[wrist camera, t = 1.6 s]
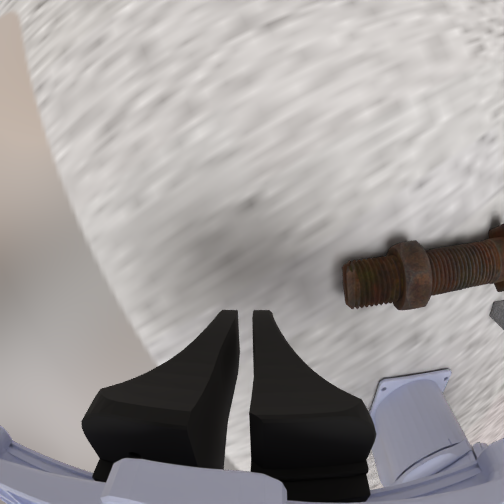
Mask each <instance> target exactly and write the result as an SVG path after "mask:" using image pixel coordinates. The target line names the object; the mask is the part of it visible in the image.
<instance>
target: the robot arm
mask: <svg viewBox="0 0 504 504" xmlns="http://www.w3.org/2000/svg"><path fill="white" fill-rule="evenodd" d="M252 319H253V362H254V381H253V390H252V398H251V405H250V411H249V417H250V440H251V472H248V471H239V470H224V457H225V445H226V434H227V424H228V418H229V413H230V408H231V403H232V399H233V394H234V390H235V385H236V380H237V375H238V368H239V355H240V347H239V328H238V310H222V311H221V312H220V313H219V314H218V315H217V316H216V317H215V319H214V320H213V321H212V322H211V323H210V324H209V325H208V327H207V328H206V329H205V330H204V331H203V332H202V333H201V334H200V335H199V336H198V337H197V338H196V339H195V340H194V341H193V342H192V343H190V344H189V345H188V346H187V347H186V348H185V349H184V350H182V351H181V352H180V353H178V354H177V355H176V356H174V357H173V358H171V359H170V360H168V361H167V362H165V363H163V364H162V365H160V366H158V367H156V368H155V369H153V370H151V371H149V372H147V373H145V374H143V375H141V376H138V377H136V378H133V379H131V380H128V381H125V382H123V383H120V384H116V385H113V386H109V387H106V388H102V389H100V391H99V392H98V394H97V395H96V397H95V398H94V400H93V402H92V404H91V405H90V407H89V409H88V411H87V412H86V414H85V416H84V418H83V420H82V429H83V431H84V434H85V436H86V437H87V439H88V441H89V442H90V444H91V445H92V447H93V448H94V450H95V452H96V453H97V455H98V456H99V458H100V460H99V462H98V464H97V466H96V469H95V471H94V473H91V472H88V471H85V470H82V469H79V468H76V467H74V466H71V465H68V464H65V463H63V462H60V461H58V460H55V459H52V458H50V457H48V456H45V455H43V454H40V453H38V452H36V451H34V450H31V449H29V448H27V447H25V446H23V445H20V444H19V443H17V442H15V441H13V440H12V438H11V437H10V435H9V434H8V433H7V431H6V430H5V429H4V428H3V427H2V426H1V425H0V499H1V500H2V501H4V502H5V503H7V504H504V438H502V439H500V440H498V441H496V442H493V443H492V444H490V445H487V444H486V443H480V442H477V443H476V444H474V445H473V447H472V445H471V444H470V443H469V442H468V440H467V438H466V436H465V434H464V432H463V430H462V428H461V426H460V424H459V422H458V420H457V419H456V417H455V415H454V413H453V411H452V409H451V408H450V406H449V404H448V402H447V400H446V399H445V397H444V395H443V391H444V389H445V387H446V385H447V382H448V380H449V378H450V376H451V373H452V372H451V370H450V369H445V370H440V371H434V372H429V373H423V374H417V375H411V376H404V377H397V378H389V379H383V380H382V381H381V382H380V383H379V386H378V389H377V392H376V395H375V398H374V401H373V404H372V407H371V410H370V413H369V412H368V410H367V408H366V406H365V404H364V403H363V401H362V400H361V399H360V398H357V397H355V396H353V395H351V394H349V393H347V392H345V391H343V390H341V389H339V388H337V387H336V386H334V385H332V384H331V383H329V382H328V381H326V380H325V379H323V378H322V377H321V376H319V375H318V374H317V373H316V372H314V371H313V370H312V369H311V368H310V367H309V366H308V365H307V364H306V363H305V362H304V361H303V360H302V359H301V358H300V357H299V356H298V355H297V354H296V353H295V351H294V350H293V349H292V348H291V346H290V345H289V344H288V342H287V341H286V339H285V338H284V336H283V335H282V333H281V331H280V330H279V328H278V326H277V324H276V322H275V320H274V318H273V315H272V312H271V311H270V310H254V311H253V318H252ZM371 449H372V452H373V456H374V459H375V463H376V467H377V471H378V475H379V479H380V481H381V483H382V485H383V486H384V488H379V489H374V490H370V489H369V484H368V480H367V475H366V474H367V473H368V465H367V460H366V459H367V457H368V455H369V453H370V451H371Z"/></svg>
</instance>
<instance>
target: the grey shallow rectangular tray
mask: <svg viewBox="0 0 504 504" xmlns="http://www.w3.org/2000/svg"><path fill="white" fill-rule="evenodd" d="M490 317H491V318H492V319H493V320H494V321H495V322H496V323H497V324H498V325H499V326H500V327H501V328H502V329H503V330H504V301H497V302H494V304H493V307H492V310H491V313H490Z"/></svg>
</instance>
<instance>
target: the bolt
mask: <svg viewBox="0 0 504 504" xmlns="http://www.w3.org/2000/svg"><path fill="white" fill-rule="evenodd" d="M342 271H343V287H344V295H345V302H346V305H348V306H349V307H350V308H351V309H354V307H356V308H357V309H358V308H359V306H360V307H361V308H363V307H364V305H365V306H366V307H368V306H369V305H370V306H373V305H374V304H375V305H376V306H377V305H378V304H380V305H382V304H383V302H384V303H385V304H387V303H388V302H389V303H392V302H393V304H394V306H395V307H396V308H397V309H398V310H409V309H415V308H420V307H425V306H426V305H427V303H428V301H429V299H430V297H431V295H438V294H443V293H447V292H451V291H457V290H462V289H465V288H469V287H473V286H479V285H483V284H488V283H489V284H493V283H494V285H495V287H496V289H497V291H498V292H502V291H504V224H502V225H500V226H498V227H496V228H494V229H491V230H489V239H485V240H483V241H480V242H473V243H467V244H460V245H454V246H449V247H441V248H435V249H429V250H424V248H423V247H422V246H421V245H420V244H419V243H418V242H417V241H416V240H415V241H408V242H401V243H398V244H396V245H394V246H392V247H391V248H390V249H389V250H388V253H387V256H385V257H384V256H382V257H381V258H380V257H377V258H375V257H373V258H372V259H370V258H368V259H367V260H366V259H362V261H361V260H360V259H359V260H357V261H356V260H353V262H351V261H350V260H349V261H348V263H347V264H344V265H343V267H342Z"/></svg>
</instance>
